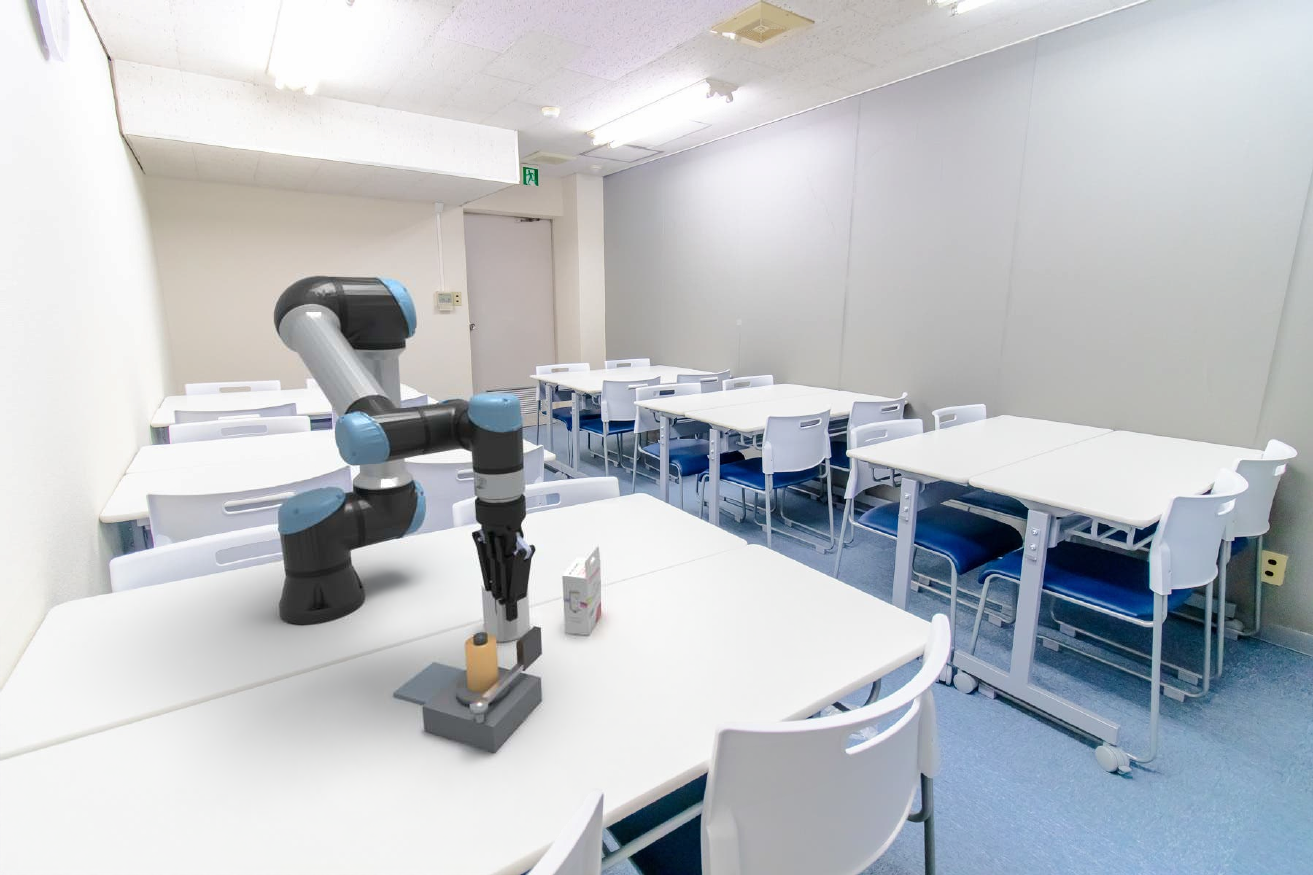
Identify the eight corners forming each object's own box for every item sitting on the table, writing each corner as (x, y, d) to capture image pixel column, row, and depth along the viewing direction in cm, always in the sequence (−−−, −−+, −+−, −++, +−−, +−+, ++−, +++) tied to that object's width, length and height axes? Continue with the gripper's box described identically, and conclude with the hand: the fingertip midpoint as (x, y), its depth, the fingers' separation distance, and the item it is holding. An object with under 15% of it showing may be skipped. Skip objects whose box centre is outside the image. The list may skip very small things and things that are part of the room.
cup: (483, 645, 108) (480, 592, 106) (486, 612, 120) (483, 565, 118) (530, 639, 110) (528, 588, 108) (529, 608, 122) (526, 561, 119)
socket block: (424, 730, 86) (421, 698, 85) (477, 683, 97) (475, 654, 96) (494, 752, 82) (492, 719, 81) (541, 700, 93) (540, 670, 92)
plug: (447, 725, 88) (440, 643, 85) (480, 694, 95) (475, 618, 92) (491, 738, 85) (485, 654, 82) (521, 705, 92) (517, 627, 89)
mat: (393, 696, 94) (393, 692, 94) (433, 665, 102) (433, 661, 102) (440, 709, 91) (440, 706, 91) (478, 676, 99) (477, 673, 99)
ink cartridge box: (578, 611, 120) (576, 541, 117) (602, 614, 119) (600, 544, 116) (563, 633, 112) (560, 559, 109) (588, 636, 111) (587, 562, 108)
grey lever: (466, 713, 82) (464, 683, 81) (532, 651, 96) (531, 625, 95) (481, 718, 81) (479, 687, 80) (545, 654, 96) (544, 628, 95)
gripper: (453, 493, 93) (463, 632, 98) (507, 510, 85) (515, 660, 90) (494, 482, 99) (501, 614, 104) (547, 497, 91) (552, 639, 96)
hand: (507, 635), depth 97 cm, fingers closed
